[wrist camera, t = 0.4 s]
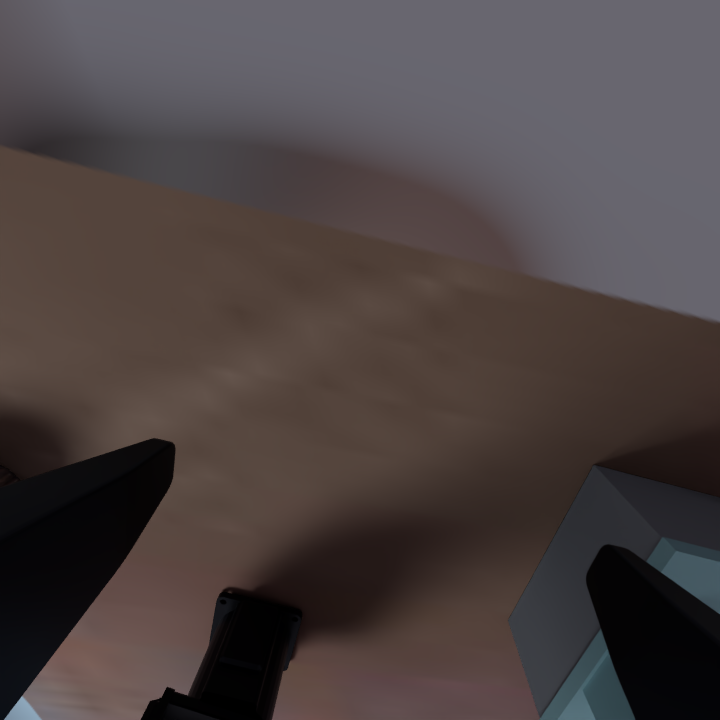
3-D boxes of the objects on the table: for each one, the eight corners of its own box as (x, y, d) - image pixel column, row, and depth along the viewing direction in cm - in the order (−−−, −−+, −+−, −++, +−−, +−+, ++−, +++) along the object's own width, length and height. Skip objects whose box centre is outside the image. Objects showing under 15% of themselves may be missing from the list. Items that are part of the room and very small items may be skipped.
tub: (661, 658, 27) (734, 768, 22) (507, 620, 27) (541, 722, 21) (776, 512, 23) (906, 602, 17) (593, 464, 23) (664, 541, 17)
